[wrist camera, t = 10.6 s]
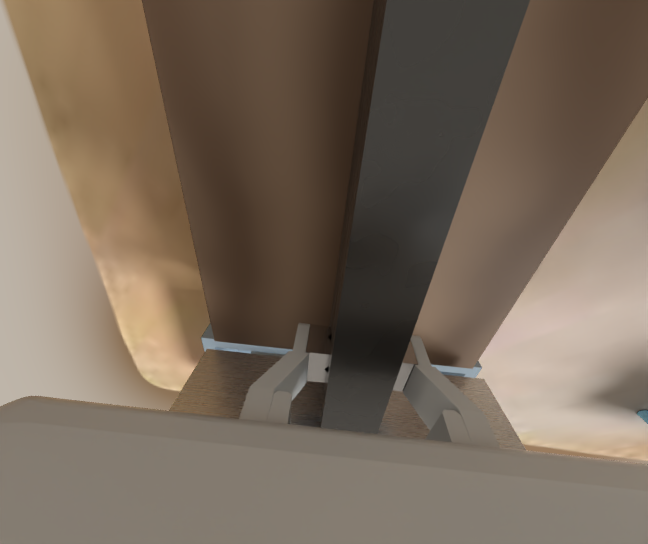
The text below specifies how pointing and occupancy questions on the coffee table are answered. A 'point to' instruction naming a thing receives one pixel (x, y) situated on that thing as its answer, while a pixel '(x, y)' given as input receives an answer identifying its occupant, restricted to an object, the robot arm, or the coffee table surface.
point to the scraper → (393, 217)
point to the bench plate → (337, 150)
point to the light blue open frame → (644, 415)
